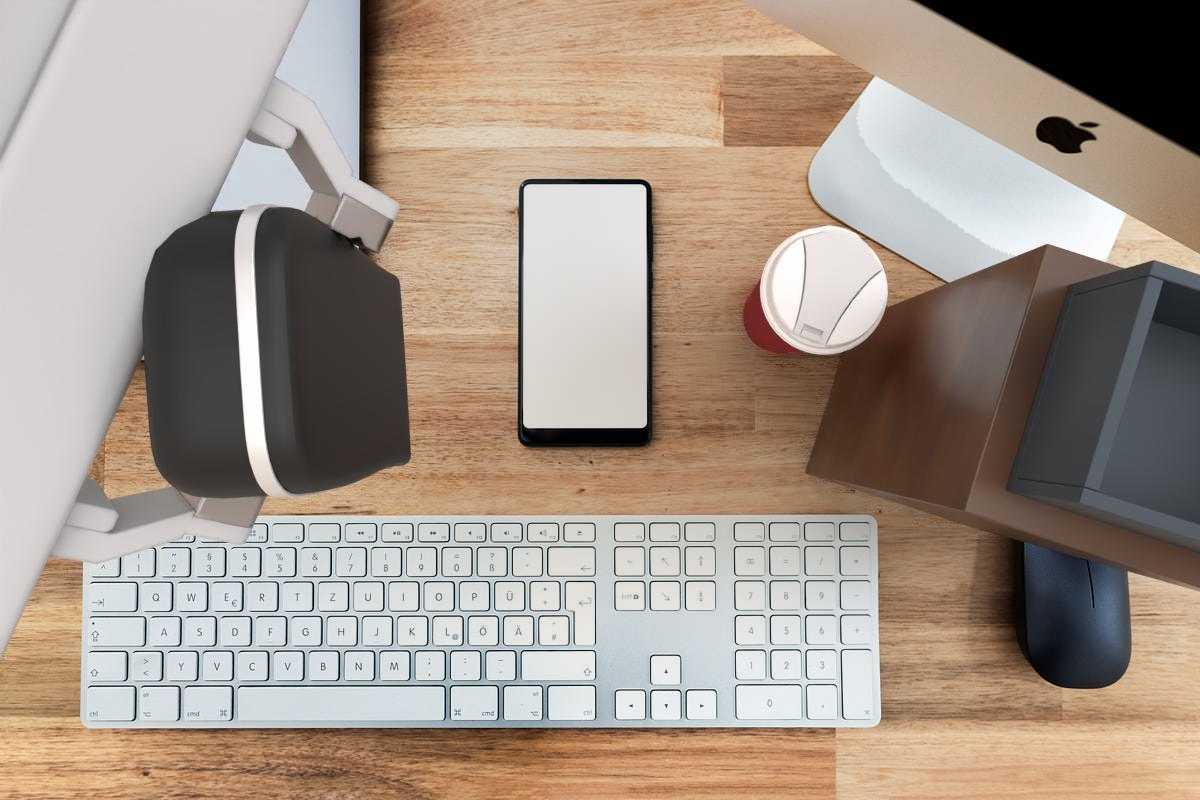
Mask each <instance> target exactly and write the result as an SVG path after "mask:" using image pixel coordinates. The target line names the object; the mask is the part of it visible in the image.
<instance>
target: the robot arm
mask: <svg viewBox="0 0 1200 800" xmlns="http://www.w3.org/2000/svg"><path fill="white" fill-rule="evenodd" d="M310 1H311V0H0V661H1V660H2V658H3V656H4V654H5V652H6V649H7V647H8V645H9V643H10V641H11V639H12V637H13V634H14V632H15V630H16V628H17V627H18V625H19V622H20V620H21V618H22V615H23V613H24V611H25V609H26V607H27V605H28V602H29V600H30V599H31V596H32V594H33V592H34V590H35V589H36V586H37V583H38V581H39V580H40V577H41V575H42V573H43V570H44V568H45V566H46V564H47V562H48V560H49V558H50V557H52V558H57V559H63V560H70V561H74V562H82V563H87V564H93V565H100V564H104V563H106V562H110V561H113V560H117V559H119V558H123V557H126V556H130V555H132V554H135V553H140V552H142V551H146V550H149V549H152V548H156V547H159V546H163V545H165V544H170V543H173V542H176V541H178V540H179V541H180V540H182V539H183V538H184V536H185V535H188V536H193V537H198V538H203V539H208V540H213V541H219V542H223V543H228V544H233V545H237V546H238V545H244V544H246V543H247V541H248V538H249V536H250V534H251V533H252V531H253V529H254V526H255V524H256V521H257V519H258V516H259V514H260V512H261V510H262V507H263V505H264V503H265V501H266V498H267V496H258V497H243V498H228V499H220V498H203V497H195V496H191V495H188V494H186V493H183V492H181V491H178V490H177V489H176V488H174V487H173V486H172V485H171V486H167V487H163V488H158V489H153V490H148V491H142V492H138V493H133V494H127V495H123V496H118V497H113V498H109V496H108V495H107V494H106V492H105V491H104V490H103V488H102V486H101V485H100V483H99V481H98V480H97V479H94V478H89V477H88V475H89V473H90V470H91V468H92V466H93V464H94V462H95V460H96V458H97V456H98V453H99V451H100V450H101V447H102V445H103V443H104V440H105V438H106V436H107V434H108V432H109V430H110V428H111V426H112V424H113V421H114V419H115V417H116V415H117V413H118V411H119V409H120V406H121V404H122V402H123V400H124V398H125V396H126V394H127V392H128V390H129V387H130V386H131V383H132V381H133V379H134V377H135V374H136V372H137V370H138V368H139V366H140V363H141V361H142V360H143V358H144V349H143V328H142V315H143V302H144V290H145V280H146V276H147V273H148V270H149V267H150V264H151V261H152V258H153V255H154V252H155V250H156V249H157V248H158V247H159V246H160V245H161V244H162V243H163V242H164V241H165V240H166V239H167V238H168V237H169V236H170V235H171V234H172V233H173V232H174V231H175V230H176V229H178V228H180V227H182V226H184V225H186V224H188V223H190V222H193V221H195V220H197V219H199V218H200V217H202V216H206V215H208V214H210V212H212V210H213V208H214V206H215V204H216V201H217V199H218V197H219V195H220V193H221V191H222V189H223V186H224V184H225V182H226V180H227V178H228V176H229V174H230V172H231V169H232V168H233V165H234V164H235V163H234V162H235V161H236V159H237V158H238V157H237V156H238V154H239V152H240V151H241V148H242V146H243V143H244V142H245V140H247V141H250V142H251V143H253V144H256V145H257V144H258V145H262V146H265V147H266V146H267V147H271V148H276V149H281V150H285V152H286V153H287V156H288V157H289V159H290V160H291V161H292V162H293V164H294V165H295V167H296V168H297V170H298V171H299V173H300V174H301V176H302V177H303V179H304V181H305V182H306V184H307V185H308V187H309V188H310V190H311V191H312V193H311V196H310V198H309V200H308V202H307V204H306V207H305V209H304V210H303V211H304V212H306V213H308V214H310V215H311V216H313V217H315V218H317V219H318V220H320V221H322V222H323V223H325V224H326V225H328V226H329V227H330V228H331V229H332V230H334V231H335V232H337V233H338V234H339V235H341V236H344V237H345V238H346V239H347V240H348V241H349V242H351V243H352V244H354V245H355V246H356V247H357V248H359V249H363V250H366V251H367V250H368V251H370V252H372V253H374V254H378V255H380V254H381V251H382V249H383V247H384V245H385V243H386V241H387V238H388V237H389V234H390V232H391V231H392V228H393V226H394V224H395V221H396V220H397V217H398V215H399V213H400V211H401V209H402V205H401V204H400V203H399V202H397V200H395V199H393V198H392V197H390V196H389V195H386V194H385V193H383V192H381V191H380V190H377V189H376V188H374V187H373V186H371V185H369V184H367V183H366V182H364V181H362V180H360V179H359V178H357V177H355V176H354V175H353V174H354V168H353V167H352V165H351V164H350V162H349V160H348V157H347V156H346V155H345V153H344V151H343V150H342V147H341V146H340V144H339V142H338V140H337V138H336V137H335V135H334V133H333V132H332V130H331V128H330V126H329V124H328V123H327V120H326V119H325V118H324V115H323V114H322V112H321V110H320V107H318V105H317V103H316V101H315V100H313V99H312V98H311V97H309V96H308V95H306V94H304V93H303V92H301V91H300V90H299V89H297V88H295V87H293V86H292V85H290V84H289V83H287V82H285V81H284V80H282V79H281V78H279V77H278V76H276V73H277V71H278V70H279V67H280V65H281V63H282V60H283V58H284V56H285V54H286V52H287V50H288V47H289V45H290V43H291V42H292V39H293V37H294V35H295V33H296V31H297V28H298V27H299V24H300V22H301V20H302V18H303V15H304V14H305V11H306V9H307V7H308V5H309V3H310Z"/></svg>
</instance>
